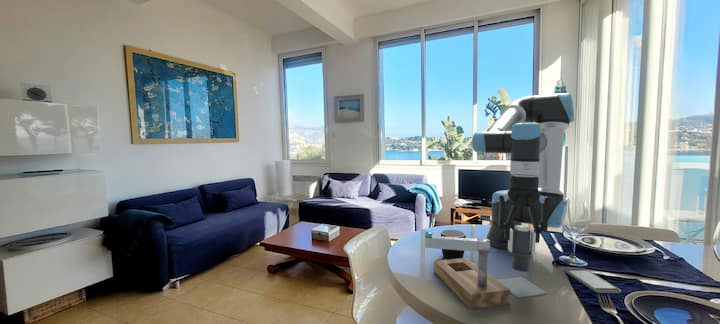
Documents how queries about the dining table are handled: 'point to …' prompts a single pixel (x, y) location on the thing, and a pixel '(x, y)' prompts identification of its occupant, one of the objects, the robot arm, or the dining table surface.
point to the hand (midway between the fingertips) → (521, 251)
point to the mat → (522, 287)
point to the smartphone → (592, 280)
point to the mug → (452, 253)
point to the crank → (457, 243)
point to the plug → (521, 248)
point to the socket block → (472, 282)
